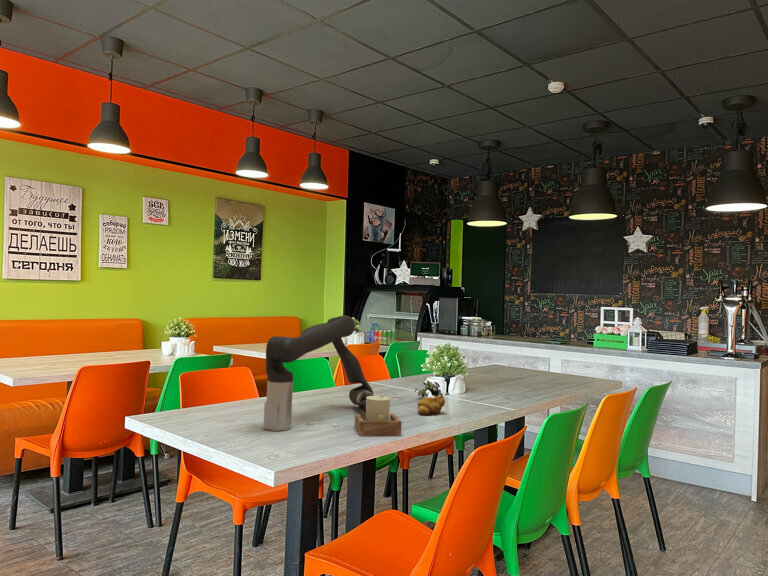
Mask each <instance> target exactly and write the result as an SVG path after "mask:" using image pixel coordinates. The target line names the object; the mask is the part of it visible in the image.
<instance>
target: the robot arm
mask: <svg viewBox="0 0 768 576" xmlns="http://www.w3.org/2000/svg"><path fill="white" fill-rule="evenodd" d="M355 329H356V323H355V320H354V319H353V318H352V317H350V316H349V315H340V316H336V317H331V318H329V319H328V320H327V322H323V323H318V324H315V325H312V326H308V327H306V328H305V329H304V330H303V331H302V332H301V335H300V336H295V337H292V336H291V337H289V336H279V335H278V336H272V337H270V338H269V339H268V341H267V344H266V347H265V371H266V373H265V374H266V376H267V384H266V385H267V386H266V387H267V388H266V401H265V402H264V407H263V409H264V410H263V411H264V412H263V429H264V430H268V431H272V432H273V431H274V432H278V431H287V430H290V429H291V428H292V415H293V414H292V413H293V410H292V409H293V390H294V389H293V388H294V373H293V372H291V371H290V370H288V369H287V368H286V367H285V365H284V363H286V364H287V363H288V364H289V363H293V362H295V361H296V360H298V359H300V358H301V357H303V356H305V354H308V353H311V352H313V351H316V350H318V349H320V348H322V347H325V346H328V345H329V344H331V343H332V346H333V347H334V349H335V351H336V353H337V355H338V356H339V358H340V361H341V362H342V365H343V367H344V368H343V369H344V371H345V374H346V378H347V380H348V383H349V384H361V385H359V386H356V387H354V388H352V389H350V390H349V393H348V397H349V400H350V402H351V403H352V404H353V405H354V409H355V410H360V411H363V412H364V413H366V397H368V396H375V395H374V390H373V388H372V387H371V385H370V384H369V383H368V381H367V380H366V378H365V375H364V371H363V370H362V367H361V364H360V361H359V360H358V358H357V357H356V356H355V355H354V353H352V352H351V350H349V349H348V348H347V346H346V345H345V343H344V341H343V339H342V338H347V337H350V336H351V335H352V334H354V331H355Z"/></svg>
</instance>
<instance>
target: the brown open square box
mask: <svg viewBox="0 0 768 576" xmlns="http://www.w3.org/2000/svg"><path fill="white" fill-rule="evenodd" d="M402 423H403V422H402V421H401V420H400V418H399V417H398V416H397V415H396V414H395V413H389V421H384V416H383V415H378V416H377V421H365V420H364V419H363V418H362V416H361V414H360V413H354V429H355V431H356V433H357V432H358V433H357V435H358V436H359V437H398V436H399V437H401V436H402Z"/></svg>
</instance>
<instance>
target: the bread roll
mask: <svg viewBox="0 0 768 576" xmlns="http://www.w3.org/2000/svg"><path fill="white" fill-rule="evenodd" d="M445 404H446V399H445V397H444V396H441V395H439V396H436V397H435V396H433V397H430V396H427V397H426V398H424V397H423V398H421V399H420V400H418V402H417V411H418V413H419V414H420V415H423V416H429V415H438V414H440V413H441V411H442V408H443V407H445Z"/></svg>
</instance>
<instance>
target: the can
mask: <svg viewBox="0 0 768 576" xmlns="http://www.w3.org/2000/svg"><path fill="white" fill-rule="evenodd" d="M390 405H391V398H390V397H388V396H384V395H374V396H368V397H366V412H365V420H364V421H377V416H378V415H383V416H384V421H390V409H391V408H390V407H391V406H390Z"/></svg>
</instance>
